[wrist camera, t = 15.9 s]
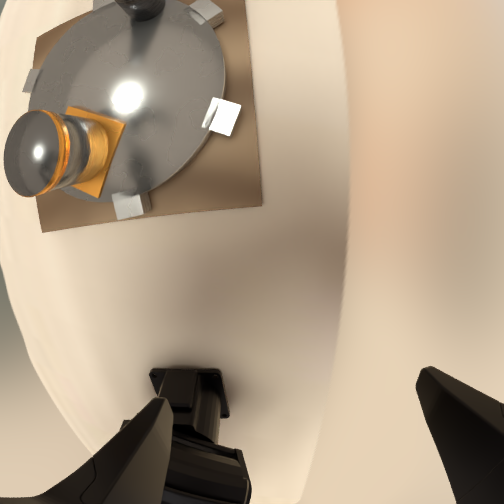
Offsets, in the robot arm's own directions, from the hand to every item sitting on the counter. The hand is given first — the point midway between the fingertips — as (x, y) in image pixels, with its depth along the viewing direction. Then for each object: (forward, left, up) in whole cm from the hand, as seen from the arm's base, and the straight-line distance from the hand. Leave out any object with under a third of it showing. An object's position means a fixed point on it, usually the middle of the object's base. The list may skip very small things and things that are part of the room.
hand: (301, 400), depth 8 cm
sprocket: (+13, +9, -11) cm, 19 cm away
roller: (+9, +11, -9) cm, 17 cm away
